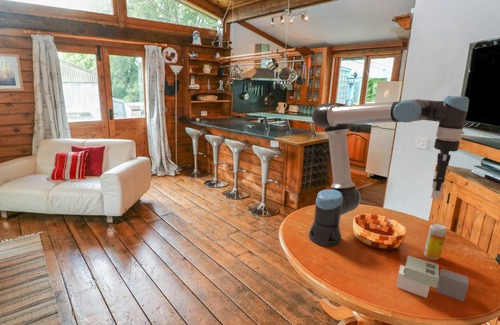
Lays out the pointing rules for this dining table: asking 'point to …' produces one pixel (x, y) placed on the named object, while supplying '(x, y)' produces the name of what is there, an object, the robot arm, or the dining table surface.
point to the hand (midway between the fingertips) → (435, 193)
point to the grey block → (422, 271)
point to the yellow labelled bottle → (435, 241)
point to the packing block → (452, 284)
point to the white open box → (411, 284)
